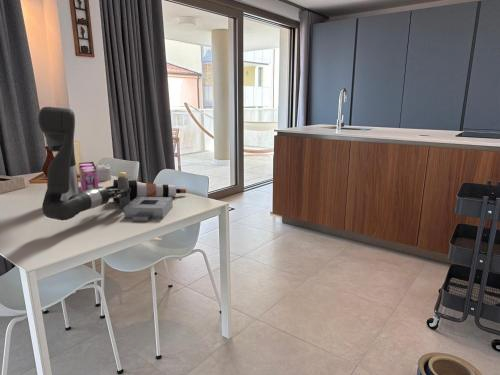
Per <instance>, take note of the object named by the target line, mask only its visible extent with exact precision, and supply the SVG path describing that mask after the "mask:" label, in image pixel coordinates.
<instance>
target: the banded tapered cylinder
mask: <svg viewBox="0 0 500 375" xmlns="http://www.w3.org/2000/svg"><path fill="white" fill-rule="evenodd" d="M112 180H113V184H112V186H113V185H114V186H115V188H116V189H118V179H112ZM128 182H129V187H130V188H131V192H130V193H129V194H130V202H131V201H133V200H134V199H135V198H136V197H172V198H176V196H177V194H186V193H187V189H186V188H176V187H177V186H176V184H173V185H172V184H161V183H144V182H143V183H141V182H137V180H134V179H128ZM116 193H117V191H116ZM112 202H120V200H119V199H116V197H115V198H112Z"/></svg>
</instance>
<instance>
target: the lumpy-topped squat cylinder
mask: <svg viewBox="0 0 500 375" xmlns="http://www.w3.org/2000/svg"><path fill="white" fill-rule="evenodd" d="M95 166H96V168H97V177H98V181H99V182H106V181H107V180H108V181H111V180H112V173H111V172H112V171H111V166H110V165H109V164H103V163H102V164H100V165H99V164H95ZM108 181H107V182H108Z"/></svg>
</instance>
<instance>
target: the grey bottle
mask: <svg viewBox="0 0 500 375" xmlns="http://www.w3.org/2000/svg"><path fill="white" fill-rule="evenodd" d="M117 180H118V189H119V190H120V189H125V188H128V187H129V182H128V180H129V176H127V172H125V171H121V172H119V173H118V177H117ZM119 200H120V201H119V208H120V209H121V210H124V207H125V206H126V205H128V204H129V203H130V202H131V201H130V194H129V193H128V196H125V197H122V198H119Z"/></svg>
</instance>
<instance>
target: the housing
mask: <svg viewBox="0 0 500 375" xmlns="http://www.w3.org/2000/svg"><path fill="white" fill-rule="evenodd" d="M173 206H174V205H173V197H136V198H135V199H134V200H133V201H130V203H129V204H128V205H126V206H125V207H124V209H123V214H124V215H123V216H124V219H132V222H139V223H141V222H142V223H143V222H145V223H146V222H150V220H152V219H158V220H159V219H161V220H162V219H164V218H165V217H166V215H168V214H169V212H170V211H171V209H173Z"/></svg>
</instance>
